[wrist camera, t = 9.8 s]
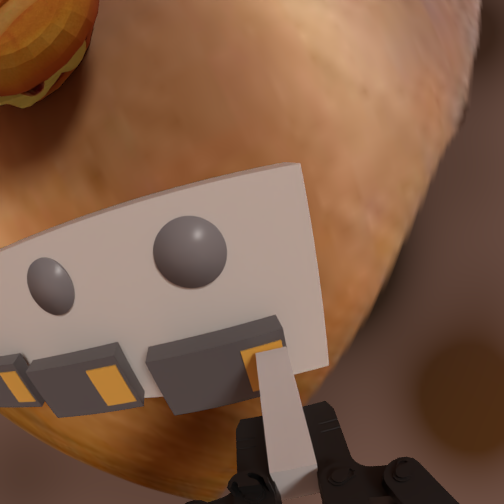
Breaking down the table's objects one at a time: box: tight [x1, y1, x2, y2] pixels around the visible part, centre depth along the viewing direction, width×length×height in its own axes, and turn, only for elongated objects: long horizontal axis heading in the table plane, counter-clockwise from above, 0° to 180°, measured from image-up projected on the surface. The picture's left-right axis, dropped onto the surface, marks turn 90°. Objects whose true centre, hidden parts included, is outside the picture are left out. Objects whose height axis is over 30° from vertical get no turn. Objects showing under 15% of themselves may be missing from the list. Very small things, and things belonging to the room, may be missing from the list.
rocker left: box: [0, 353, 45, 407], centre depth 14 cm, size 7×4×2 cm, turn 102°
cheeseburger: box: [0, 0, 99, 108], centre depth 9 cm, size 10×11×10 cm
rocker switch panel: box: [0, 162, 329, 398], centre depth 17 cm, size 30×12×4 cm, turn 102°
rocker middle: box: [26, 342, 145, 418], centre depth 14 cm, size 7×4×2 cm, turn 102°
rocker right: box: [145, 314, 287, 415], centre depth 14 cm, size 7×4×2 cm, turn 102°
